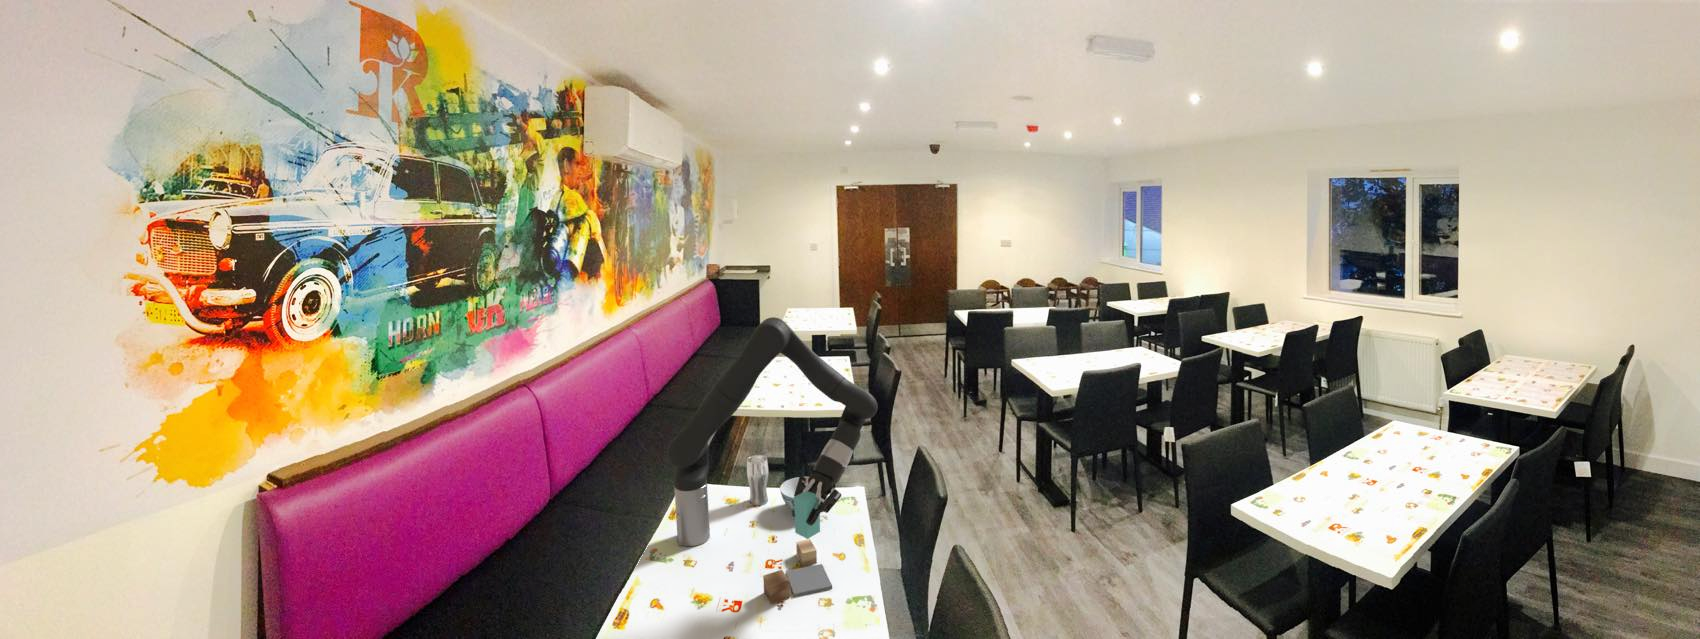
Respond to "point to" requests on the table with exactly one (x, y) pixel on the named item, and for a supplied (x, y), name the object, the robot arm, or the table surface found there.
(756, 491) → the beer glass
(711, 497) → the table surface
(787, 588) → the walnut cube
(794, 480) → the chinaware
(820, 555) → the table surface
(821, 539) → the table surface
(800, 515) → the teal block
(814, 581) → the coaster
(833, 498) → the robot arm
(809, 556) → the oak block
